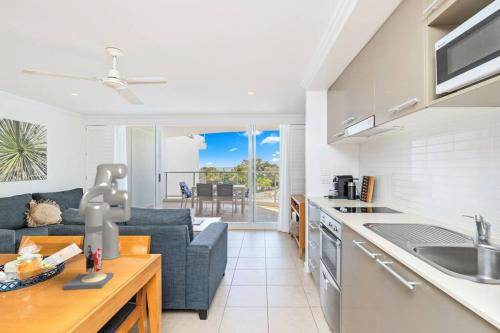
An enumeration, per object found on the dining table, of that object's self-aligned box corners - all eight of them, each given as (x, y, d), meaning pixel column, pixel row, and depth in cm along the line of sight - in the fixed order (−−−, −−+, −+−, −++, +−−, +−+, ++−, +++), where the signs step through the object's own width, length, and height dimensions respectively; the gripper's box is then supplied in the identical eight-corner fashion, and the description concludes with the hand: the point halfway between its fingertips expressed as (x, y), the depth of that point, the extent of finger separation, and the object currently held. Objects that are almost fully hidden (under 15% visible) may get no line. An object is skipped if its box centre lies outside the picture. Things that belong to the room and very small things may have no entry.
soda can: (94, 274, 130) (94, 249, 130) (82, 273, 132) (82, 249, 132) (105, 269, 137) (105, 245, 137) (93, 268, 138) (93, 244, 139)
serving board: (79, 277, 140) (79, 272, 140) (113, 276, 142) (113, 271, 142) (63, 290, 126) (63, 284, 126) (101, 288, 128) (101, 282, 128)
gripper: (94, 225, 143) (94, 259, 143) (76, 233, 125) (76, 272, 125) (109, 225, 143) (109, 258, 143) (93, 233, 126) (93, 271, 126)
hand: (94, 264), depth 134 cm, fingers closed on soda can, 7 cm apart
